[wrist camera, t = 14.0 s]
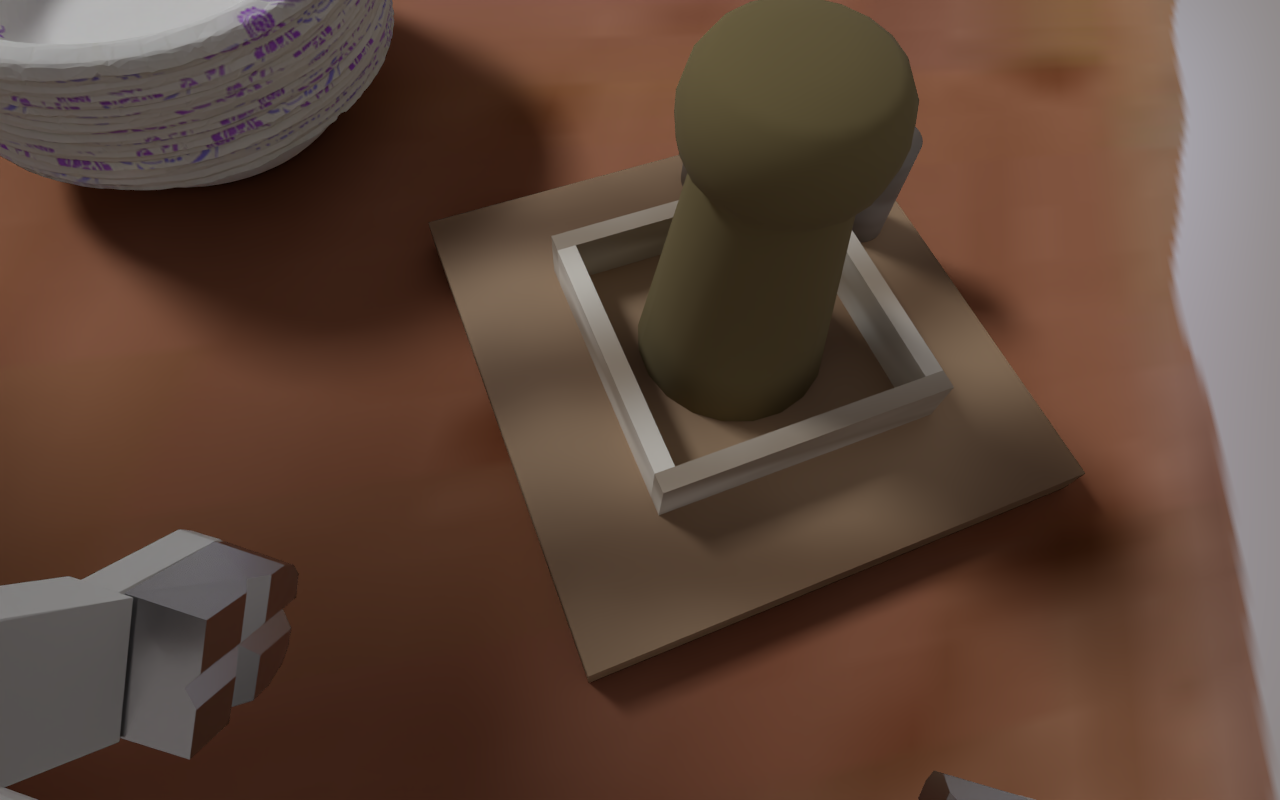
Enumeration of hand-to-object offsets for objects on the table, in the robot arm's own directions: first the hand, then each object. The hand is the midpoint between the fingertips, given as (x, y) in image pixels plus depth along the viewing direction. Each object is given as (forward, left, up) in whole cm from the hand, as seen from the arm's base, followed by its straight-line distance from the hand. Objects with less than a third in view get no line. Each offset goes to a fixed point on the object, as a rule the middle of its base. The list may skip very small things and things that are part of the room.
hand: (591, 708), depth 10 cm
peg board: (-10, +8, -12) cm, 18 cm away
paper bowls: (-28, -6, -13) cm, 31 cm away
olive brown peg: (-10, +8, -11) cm, 17 cm away
